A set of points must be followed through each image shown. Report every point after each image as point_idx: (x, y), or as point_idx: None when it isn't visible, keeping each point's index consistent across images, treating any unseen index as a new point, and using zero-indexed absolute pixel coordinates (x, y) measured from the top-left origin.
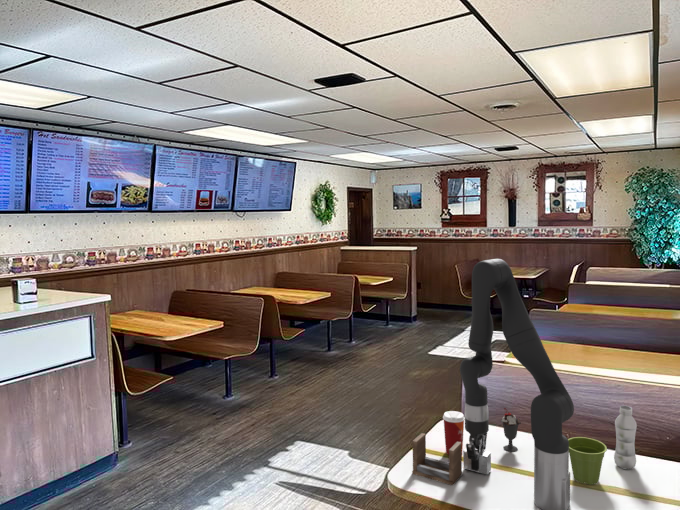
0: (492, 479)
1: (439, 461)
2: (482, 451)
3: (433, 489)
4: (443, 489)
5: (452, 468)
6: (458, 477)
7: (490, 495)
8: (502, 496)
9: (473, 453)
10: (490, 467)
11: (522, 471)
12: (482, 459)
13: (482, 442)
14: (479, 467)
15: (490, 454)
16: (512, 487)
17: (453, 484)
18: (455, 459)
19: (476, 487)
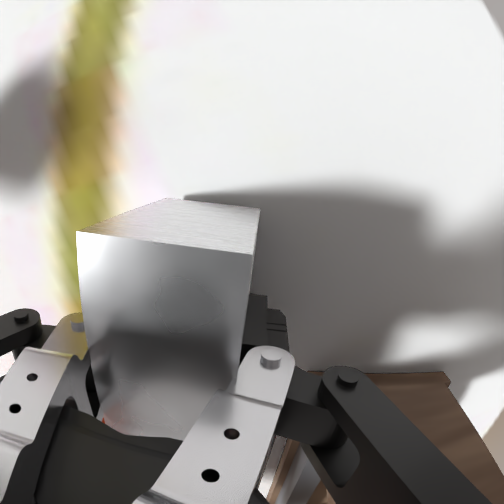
0: (297, 158)
1: (302, 497)
2: (116, 344)
3: (471, 414)
4: (473, 388)
5: (476, 439)
6: (374, 379)
7: (493, 152)
8: (475, 82)
9: (427, 451)
10: (168, 202)
11: (95, 15)
12: (247, 301)
13: (44, 435)
14: (249, 292)
15: (102, 226)
16: (348, 16)
17: (437, 373)
18: (469, 480)
19: (443, 250)
